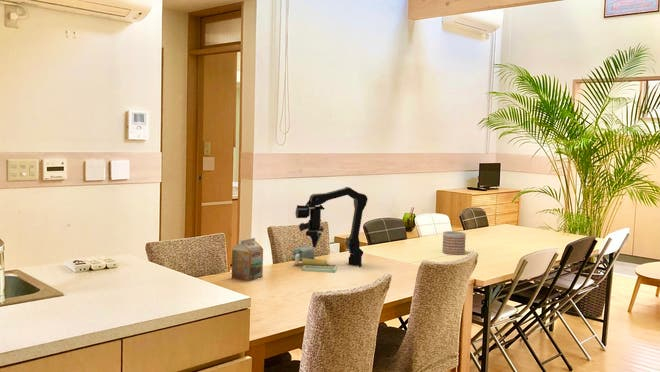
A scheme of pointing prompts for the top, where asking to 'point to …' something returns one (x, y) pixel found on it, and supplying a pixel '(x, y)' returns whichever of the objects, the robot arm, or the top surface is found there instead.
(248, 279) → the milk carton
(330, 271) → the tray
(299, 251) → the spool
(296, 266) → the holder board
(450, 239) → the planter
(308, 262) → the yellow cylinder
